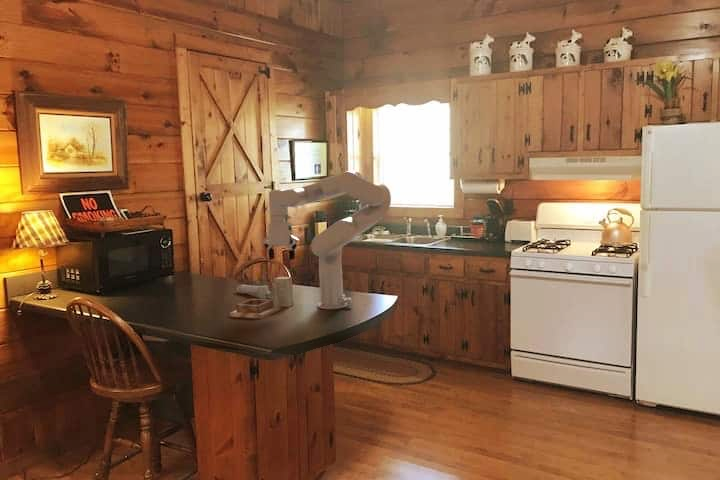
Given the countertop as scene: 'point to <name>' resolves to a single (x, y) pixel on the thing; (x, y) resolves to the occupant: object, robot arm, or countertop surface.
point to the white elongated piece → (254, 290)
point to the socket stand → (255, 308)
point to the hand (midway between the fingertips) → (281, 259)
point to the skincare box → (284, 291)
